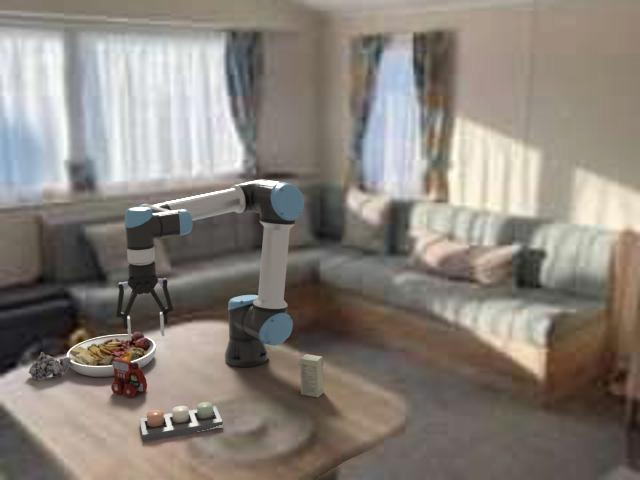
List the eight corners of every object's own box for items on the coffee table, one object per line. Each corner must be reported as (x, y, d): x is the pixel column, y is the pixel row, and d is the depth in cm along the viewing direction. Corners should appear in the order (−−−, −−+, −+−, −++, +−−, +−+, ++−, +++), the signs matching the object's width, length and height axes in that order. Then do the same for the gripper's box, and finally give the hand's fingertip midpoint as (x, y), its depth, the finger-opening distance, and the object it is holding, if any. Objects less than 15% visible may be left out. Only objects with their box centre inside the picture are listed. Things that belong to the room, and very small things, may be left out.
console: (216, 412, 198) (215, 406, 198) (222, 427, 189) (222, 421, 188) (139, 424, 191) (139, 418, 190) (143, 441, 182) (142, 434, 181)
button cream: (187, 413, 192) (187, 404, 192) (190, 420, 188) (189, 411, 187) (171, 416, 191) (171, 407, 190) (173, 423, 186) (173, 414, 186)
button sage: (211, 409, 195) (211, 400, 194) (214, 416, 190) (214, 407, 190) (195, 412, 193) (195, 403, 192) (198, 419, 189) (198, 410, 188)
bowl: (108, 388, 215) (106, 365, 213) (49, 368, 231) (47, 347, 229) (174, 357, 240) (173, 336, 238) (116, 341, 255) (115, 321, 254)
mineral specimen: (76, 362, 225) (56, 342, 222) (63, 382, 218) (41, 361, 214) (53, 373, 230) (32, 353, 227) (39, 392, 223) (18, 372, 219)
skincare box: (324, 392, 211) (324, 356, 208) (318, 398, 207) (318, 361, 204) (306, 388, 213) (305, 353, 211) (299, 394, 210) (299, 358, 207)
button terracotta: (163, 417, 190) (162, 408, 189) (164, 425, 186) (164, 415, 185) (146, 420, 188) (145, 411, 188) (148, 427, 184) (147, 418, 184)
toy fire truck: (137, 400, 206) (135, 369, 204) (107, 392, 211) (105, 362, 209) (152, 391, 212) (150, 361, 210) (122, 384, 217) (120, 354, 215)
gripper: (177, 255, 196) (181, 328, 201) (101, 262, 189) (107, 336, 194) (181, 261, 189) (185, 336, 194) (102, 268, 182) (108, 345, 187)
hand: (146, 336), depth 194 cm, fingers open, 9 cm apart
